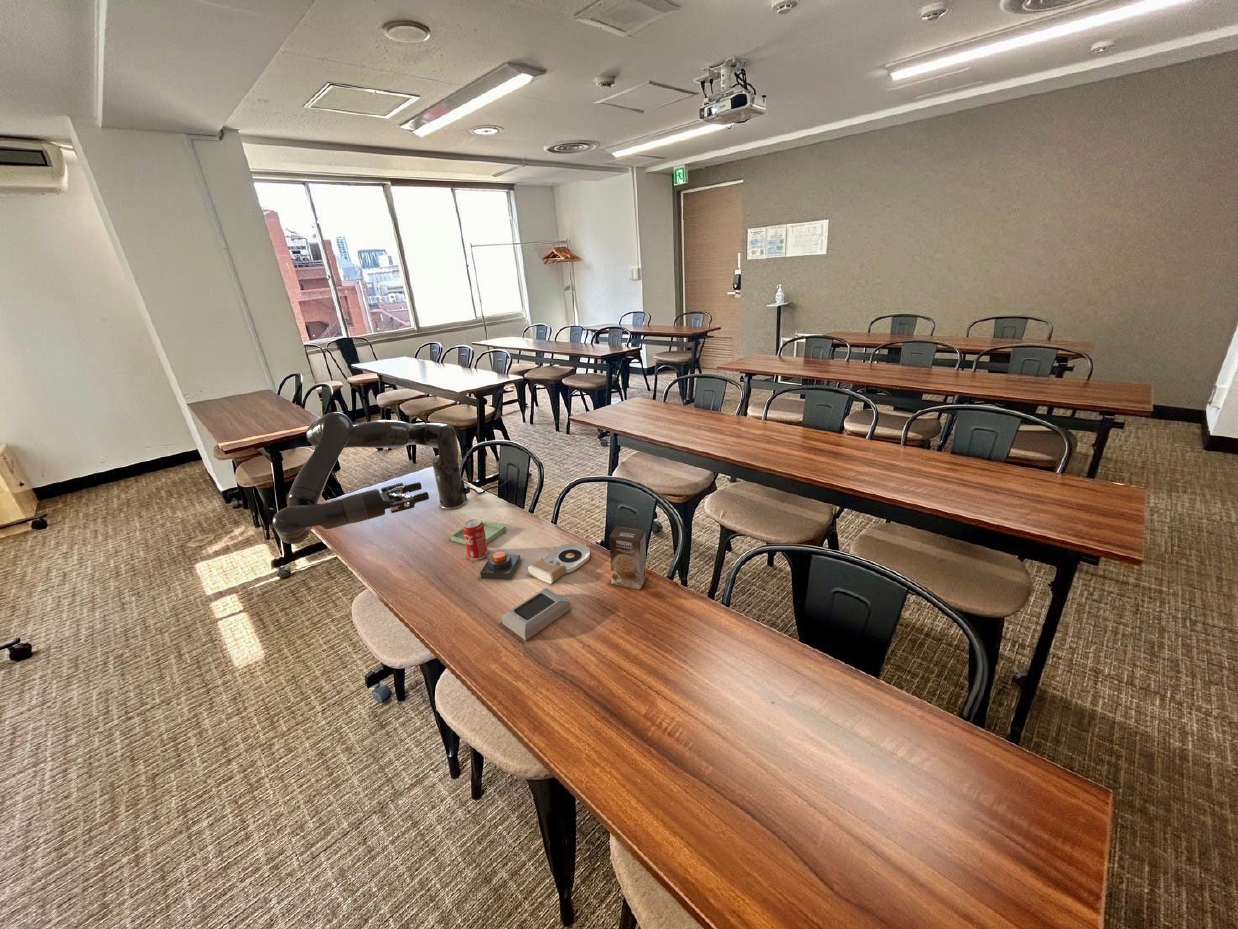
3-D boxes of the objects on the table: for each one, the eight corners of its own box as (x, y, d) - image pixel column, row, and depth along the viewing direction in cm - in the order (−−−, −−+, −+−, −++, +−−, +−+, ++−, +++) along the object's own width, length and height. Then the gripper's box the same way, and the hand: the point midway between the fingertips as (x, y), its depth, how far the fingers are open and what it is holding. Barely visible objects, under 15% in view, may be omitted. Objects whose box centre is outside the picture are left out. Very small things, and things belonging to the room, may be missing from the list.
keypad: (569, 598, 127) (523, 629, 117) (570, 609, 128) (525, 640, 118) (545, 584, 133) (500, 612, 123) (547, 595, 134) (502, 623, 124)
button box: (493, 559, 152) (491, 548, 150) (520, 560, 151) (519, 549, 149) (481, 578, 143) (479, 567, 141) (510, 579, 142) (508, 568, 140)
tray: (477, 522, 175) (477, 518, 174) (506, 530, 169) (505, 526, 168) (450, 540, 164) (450, 536, 163) (480, 548, 158) (479, 544, 158)
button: (496, 556, 147) (495, 551, 147) (507, 556, 147) (506, 551, 146) (492, 562, 144) (491, 557, 143) (503, 563, 144) (502, 558, 143)
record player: (525, 564, 143) (569, 535, 158) (526, 573, 144) (569, 543, 159) (553, 577, 137) (597, 545, 152) (554, 586, 138) (597, 554, 153)
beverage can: (470, 551, 157) (464, 518, 153) (489, 549, 158) (484, 517, 153) (466, 562, 151) (460, 528, 147) (486, 560, 152) (480, 527, 147)
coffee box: (610, 584, 138) (607, 536, 131) (617, 571, 143) (615, 524, 137) (641, 589, 135) (639, 540, 129) (647, 576, 140) (646, 529, 134)
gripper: (363, 503, 123) (428, 486, 131) (355, 485, 134) (416, 470, 142) (370, 529, 126) (433, 510, 134) (362, 509, 137) (421, 493, 145)
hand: (424, 490), depth 138 cm, fingers open, 8 cm apart
